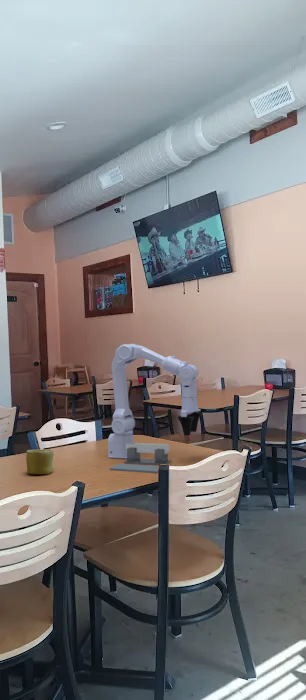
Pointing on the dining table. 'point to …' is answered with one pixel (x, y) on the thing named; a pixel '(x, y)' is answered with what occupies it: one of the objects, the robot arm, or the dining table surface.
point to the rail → (148, 447)
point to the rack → (135, 459)
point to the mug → (39, 461)
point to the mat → (135, 468)
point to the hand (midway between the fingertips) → (190, 433)
